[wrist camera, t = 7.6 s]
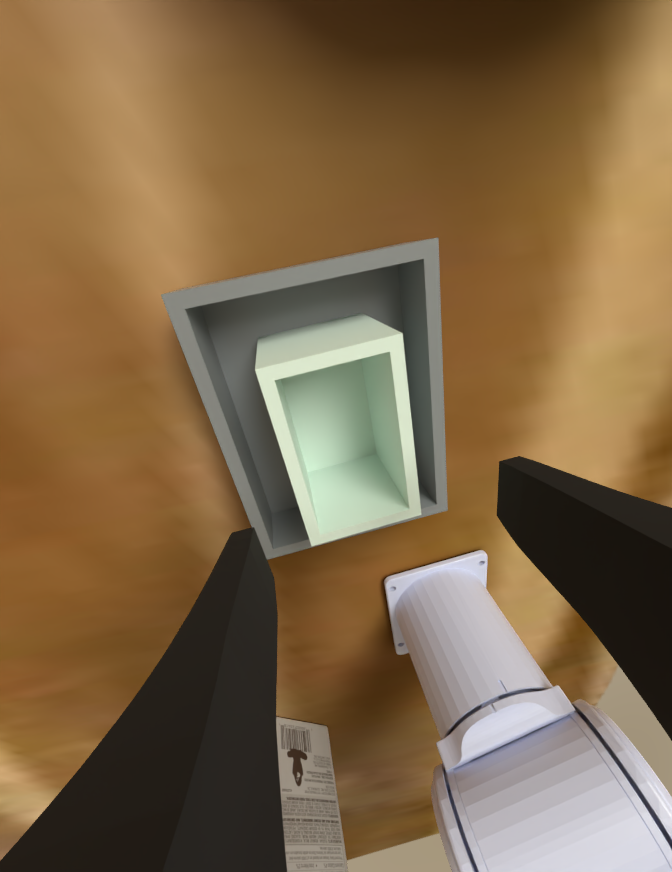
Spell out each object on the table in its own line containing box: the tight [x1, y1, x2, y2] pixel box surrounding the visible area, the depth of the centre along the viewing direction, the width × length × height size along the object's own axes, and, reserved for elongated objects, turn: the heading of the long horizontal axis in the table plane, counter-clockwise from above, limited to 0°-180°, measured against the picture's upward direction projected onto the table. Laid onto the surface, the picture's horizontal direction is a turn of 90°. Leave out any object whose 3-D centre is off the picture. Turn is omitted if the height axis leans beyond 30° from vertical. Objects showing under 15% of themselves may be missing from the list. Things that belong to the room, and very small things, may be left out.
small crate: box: [255, 313, 421, 546], centre depth 16 cm, size 8×5×6 cm, turn 11°
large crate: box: [161, 238, 448, 560], centre depth 17 cm, size 13×10×4 cm
